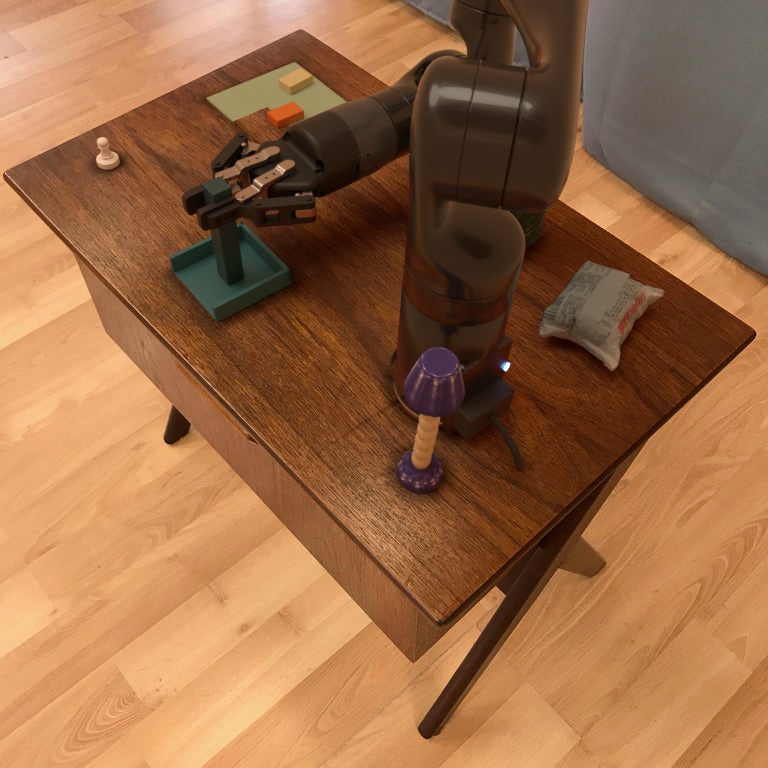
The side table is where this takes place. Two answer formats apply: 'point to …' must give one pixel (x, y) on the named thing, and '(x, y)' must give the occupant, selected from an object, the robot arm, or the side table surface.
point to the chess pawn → (106, 155)
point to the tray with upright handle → (229, 264)
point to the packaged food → (598, 310)
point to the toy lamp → (429, 415)
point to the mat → (273, 96)
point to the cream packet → (295, 81)
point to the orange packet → (285, 115)
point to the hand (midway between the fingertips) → (192, 213)
